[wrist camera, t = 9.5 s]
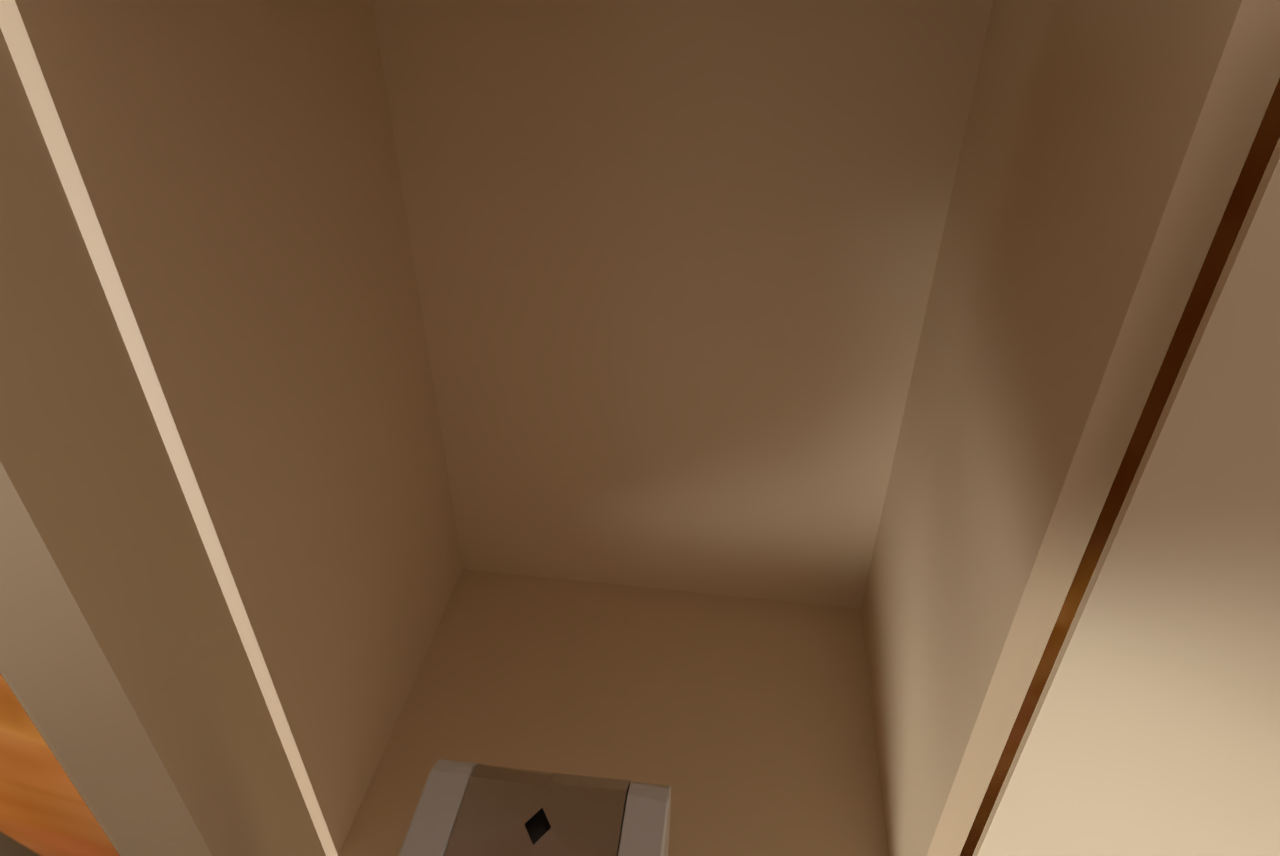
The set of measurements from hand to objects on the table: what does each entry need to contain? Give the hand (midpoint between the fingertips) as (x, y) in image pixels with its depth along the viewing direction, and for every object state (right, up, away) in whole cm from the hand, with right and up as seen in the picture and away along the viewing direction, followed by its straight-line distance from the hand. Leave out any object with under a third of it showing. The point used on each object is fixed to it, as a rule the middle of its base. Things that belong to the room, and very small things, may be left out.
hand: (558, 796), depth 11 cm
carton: (+2, +7, +11) cm, 14 cm away
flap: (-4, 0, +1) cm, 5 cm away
